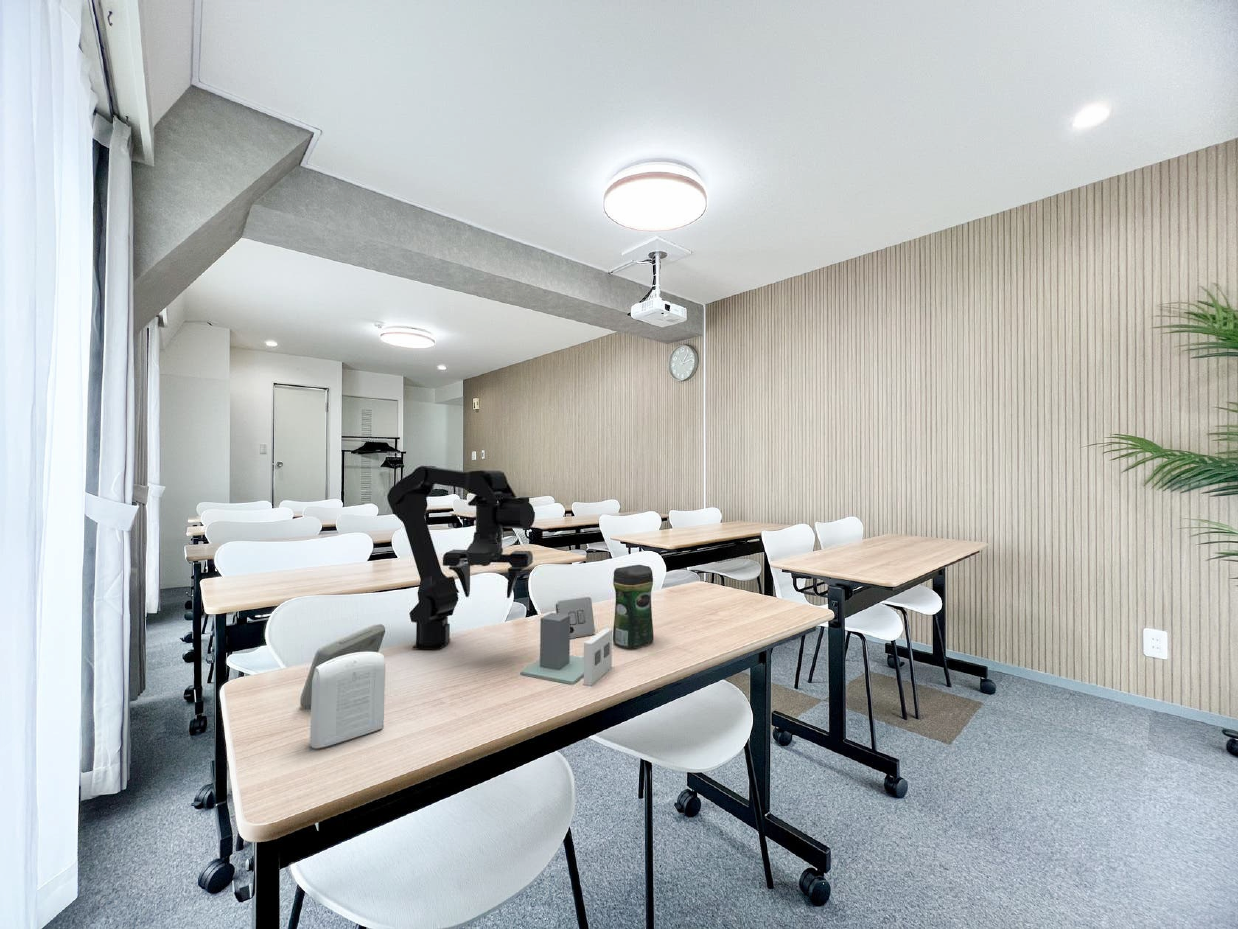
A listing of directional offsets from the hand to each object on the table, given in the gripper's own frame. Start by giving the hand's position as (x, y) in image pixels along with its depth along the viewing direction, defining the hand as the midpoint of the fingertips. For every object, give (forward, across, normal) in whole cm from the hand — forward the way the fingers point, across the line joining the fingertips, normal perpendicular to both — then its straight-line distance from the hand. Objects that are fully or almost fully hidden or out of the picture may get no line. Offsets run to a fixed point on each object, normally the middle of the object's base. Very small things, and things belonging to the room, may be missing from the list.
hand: (488, 597), depth 111 cm
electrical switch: (+13, +17, +16) cm, 27 cm away
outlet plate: (+13, +25, -9) cm, 30 cm away
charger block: (+12, +16, -5) cm, 21 cm away
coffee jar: (+13, +32, +11) cm, 36 cm away
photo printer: (+13, -11, -34) cm, 38 cm away
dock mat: (+13, +17, -6) cm, 22 cm away
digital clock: (+13, -21, -19) cm, 31 cm away
